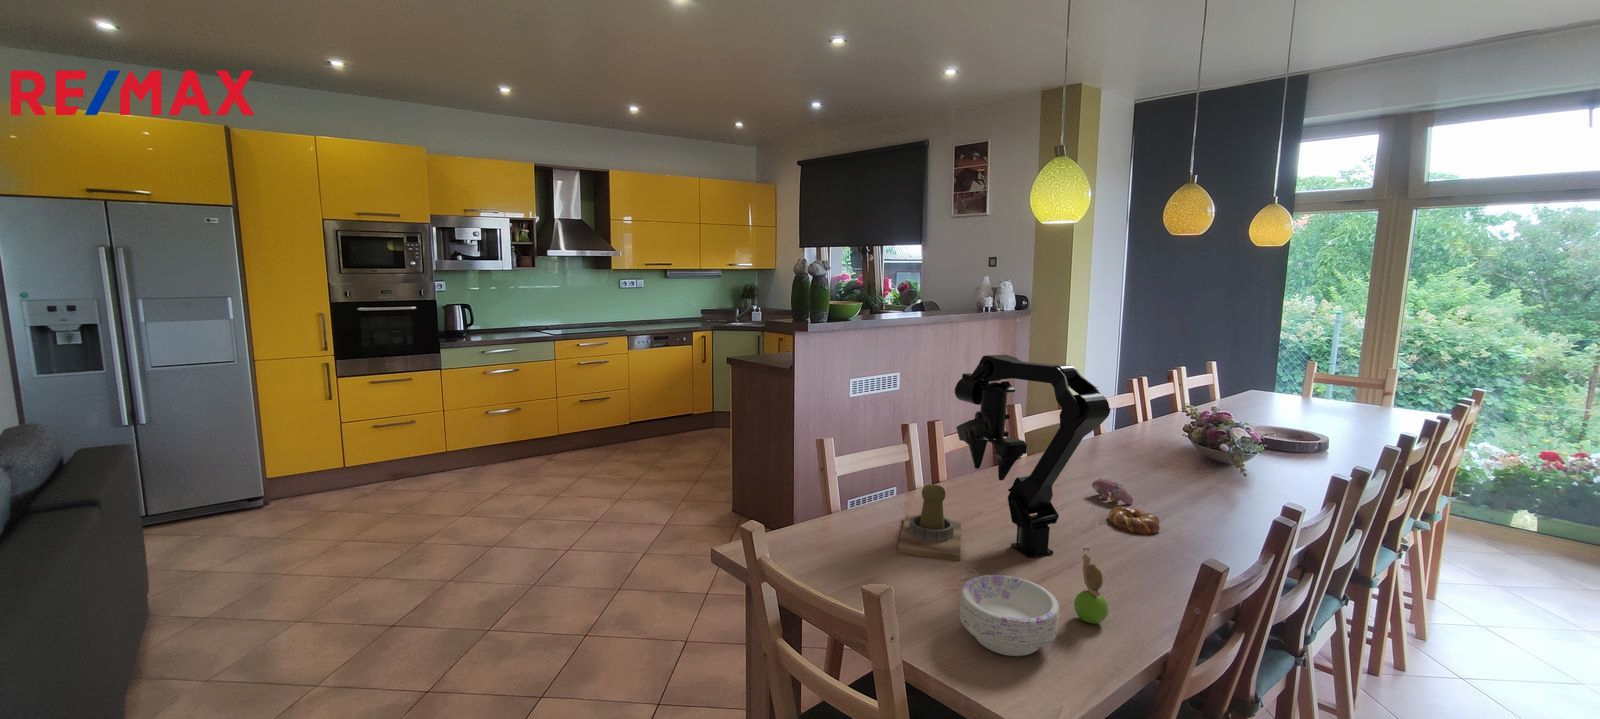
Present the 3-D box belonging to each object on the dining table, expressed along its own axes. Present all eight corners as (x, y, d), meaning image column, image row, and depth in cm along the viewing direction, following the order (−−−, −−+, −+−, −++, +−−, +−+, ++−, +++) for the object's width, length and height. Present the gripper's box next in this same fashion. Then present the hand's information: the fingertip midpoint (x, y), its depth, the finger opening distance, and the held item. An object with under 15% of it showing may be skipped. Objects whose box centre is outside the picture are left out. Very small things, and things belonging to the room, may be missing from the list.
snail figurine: (1095, 610, 118) (1100, 547, 117) (1112, 630, 112) (1119, 563, 110) (1065, 610, 118) (1070, 546, 117) (1081, 629, 112) (1087, 562, 110)
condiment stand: (905, 519, 160) (906, 504, 159) (960, 525, 157) (961, 510, 156) (897, 552, 141) (898, 536, 140) (960, 560, 137) (961, 543, 137)
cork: (927, 525, 153) (930, 480, 151) (950, 533, 148) (953, 486, 147) (912, 532, 149) (914, 485, 147) (935, 540, 144) (937, 492, 143)
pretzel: (1096, 521, 163) (1097, 506, 162) (1125, 514, 168) (1126, 500, 167) (1140, 539, 152) (1141, 523, 152) (1170, 531, 157) (1171, 516, 157)
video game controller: (1093, 500, 182) (1087, 479, 179) (1104, 491, 183) (1098, 470, 181) (1124, 512, 173) (1118, 491, 171) (1135, 502, 174) (1130, 481, 172)
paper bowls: (1017, 680, 97) (1020, 630, 96) (939, 633, 110) (941, 588, 109) (1075, 647, 106) (1079, 601, 105) (997, 607, 119) (1000, 565, 117)
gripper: (941, 402, 158) (937, 465, 160) (988, 419, 141) (983, 490, 143) (980, 400, 162) (976, 462, 164) (1031, 417, 144) (1026, 485, 147)
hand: (988, 474), depth 154 cm, fingers open, 9 cm apart
